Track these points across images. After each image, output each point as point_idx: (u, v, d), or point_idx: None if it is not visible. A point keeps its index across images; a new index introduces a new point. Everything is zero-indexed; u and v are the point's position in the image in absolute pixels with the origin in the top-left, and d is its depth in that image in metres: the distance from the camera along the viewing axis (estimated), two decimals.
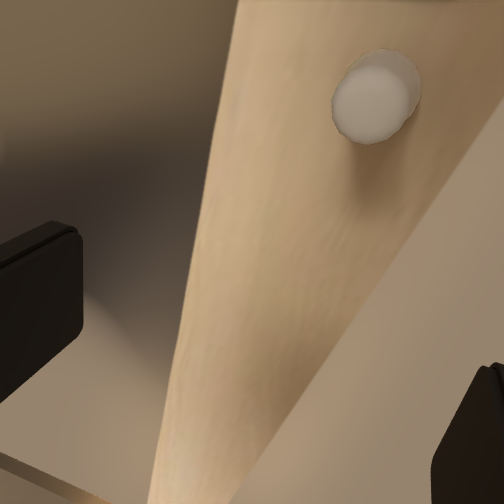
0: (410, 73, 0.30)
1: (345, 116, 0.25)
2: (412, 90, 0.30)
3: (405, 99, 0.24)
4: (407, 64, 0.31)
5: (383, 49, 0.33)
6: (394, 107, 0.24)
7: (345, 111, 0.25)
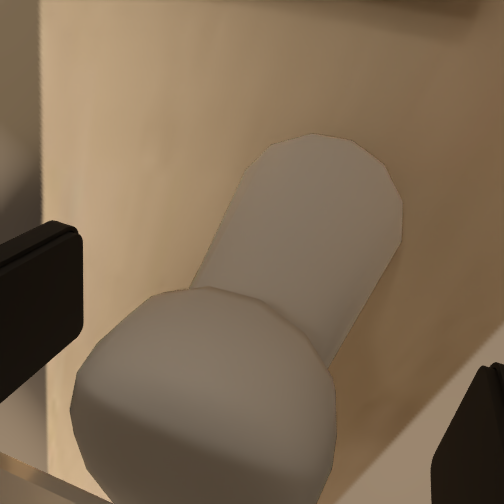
0: (371, 213, 0.12)
1: (106, 481, 0.07)
2: (375, 260, 0.12)
3: (306, 471, 0.06)
4: (365, 185, 0.13)
5: (315, 137, 0.14)
6: (263, 503, 0.06)
7: (101, 469, 0.07)
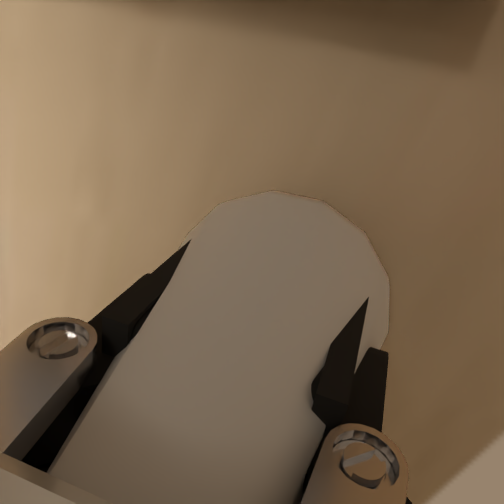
0: (343, 316, 0.09)
1: None
2: None
3: None
4: (337, 272, 0.09)
5: (273, 197, 0.11)
6: None
7: None
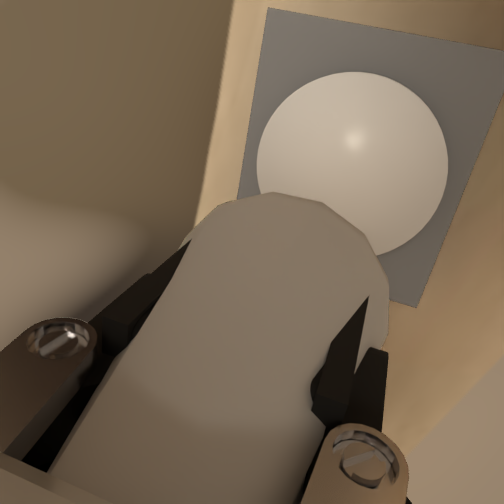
0: (342, 319, 0.09)
1: None
2: None
3: None
4: (336, 275, 0.09)
5: (273, 199, 0.11)
6: None
7: None
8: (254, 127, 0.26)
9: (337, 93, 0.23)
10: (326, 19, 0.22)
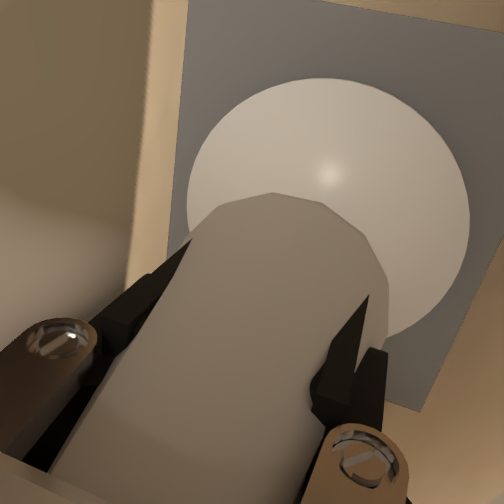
0: (342, 319, 0.09)
1: None
2: None
3: None
4: (336, 275, 0.09)
5: (272, 200, 0.11)
6: None
7: None
8: (183, 157, 0.18)
9: (297, 111, 0.15)
10: None
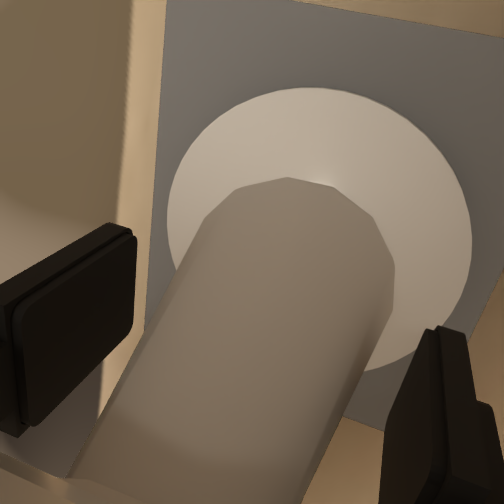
0: (355, 291, 0.09)
1: None
2: (359, 355, 0.09)
3: None
4: (348, 252, 0.10)
5: (288, 183, 0.11)
6: None
7: None
8: (163, 171, 0.16)
9: (284, 123, 0.13)
10: None
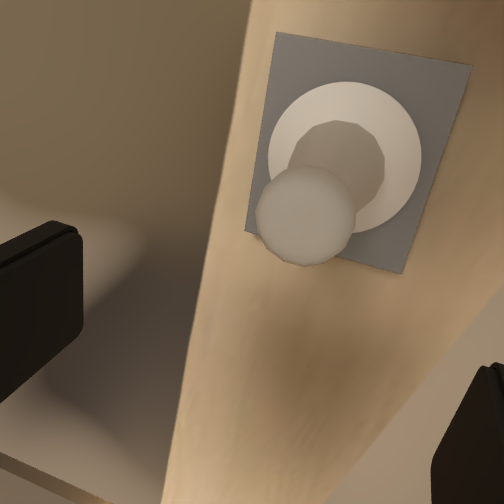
0: (368, 156, 0.25)
1: (271, 233, 0.19)
2: (370, 178, 0.24)
3: (347, 216, 0.18)
4: (365, 143, 0.25)
5: (338, 121, 0.27)
6: (333, 226, 0.18)
7: (271, 227, 0.19)
8: (265, 127, 0.31)
9: (332, 98, 0.29)
10: (322, 40, 0.28)
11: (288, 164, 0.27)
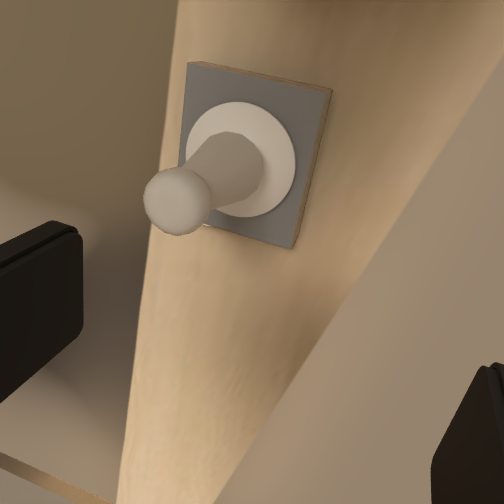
0: (241, 159, 0.34)
1: (152, 212, 0.29)
2: (241, 175, 0.34)
3: (198, 202, 0.28)
4: (241, 150, 0.34)
5: (226, 132, 0.36)
6: (189, 208, 0.28)
7: (151, 208, 0.28)
8: (184, 134, 0.41)
9: (228, 114, 0.38)
10: (221, 70, 0.37)
11: None
